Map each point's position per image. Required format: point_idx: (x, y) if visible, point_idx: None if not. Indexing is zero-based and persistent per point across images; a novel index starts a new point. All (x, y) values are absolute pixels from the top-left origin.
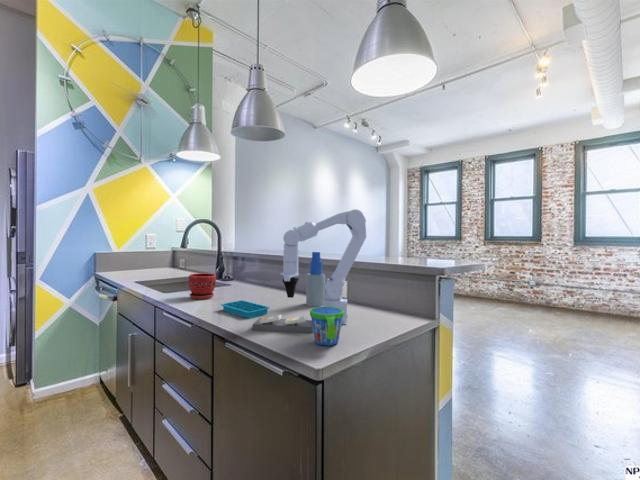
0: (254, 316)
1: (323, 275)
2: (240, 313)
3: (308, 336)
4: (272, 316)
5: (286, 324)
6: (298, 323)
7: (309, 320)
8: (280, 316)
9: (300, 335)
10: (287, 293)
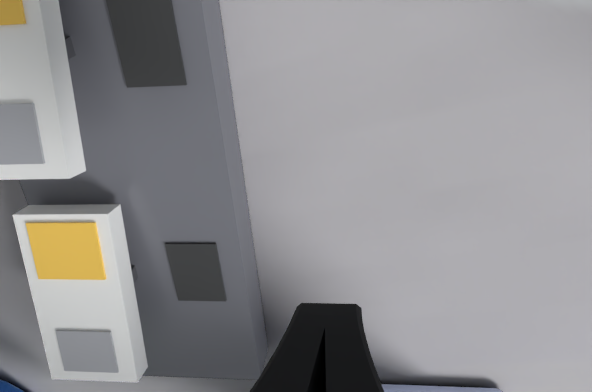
0: None
1: None
2: None
3: (35, 330)
4: (37, 72)
5: (64, 202)
6: (134, 285)
7: (247, 347)
8: (34, 176)
9: (28, 286)
10: (278, 355)
